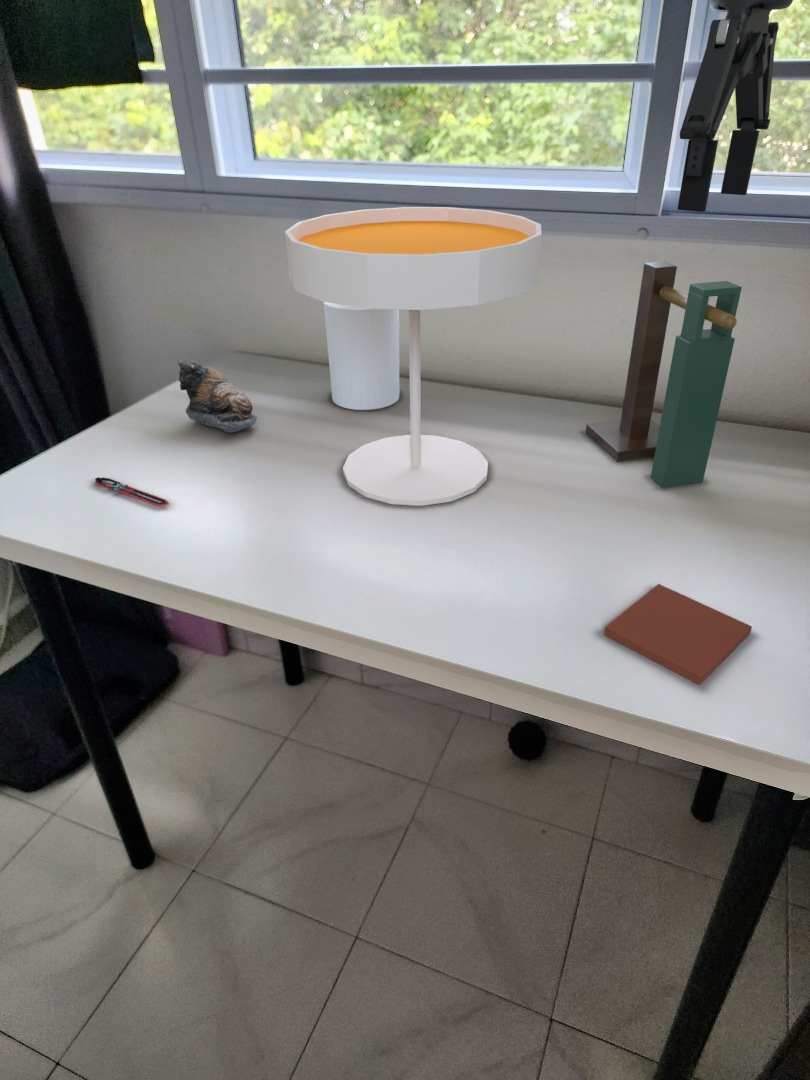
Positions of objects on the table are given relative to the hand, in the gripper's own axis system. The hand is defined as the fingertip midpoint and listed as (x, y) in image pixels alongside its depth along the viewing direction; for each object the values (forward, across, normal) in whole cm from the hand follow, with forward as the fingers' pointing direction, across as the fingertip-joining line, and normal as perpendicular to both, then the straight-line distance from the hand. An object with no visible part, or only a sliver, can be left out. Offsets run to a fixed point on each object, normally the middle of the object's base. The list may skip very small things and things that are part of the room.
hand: (713, 202), depth 83 cm
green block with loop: (+34, 0, +2) cm, 34 cm away
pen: (+34, +46, -54) cm, 78 cm away
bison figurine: (+34, +25, -61) cm, 74 cm away
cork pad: (+34, +31, +14) cm, 48 cm away
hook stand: (+34, -3, -3) cm, 34 cm away
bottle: (+34, +2, -51) cm, 61 cm away
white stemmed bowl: (+34, +18, -28) cm, 47 cm away
